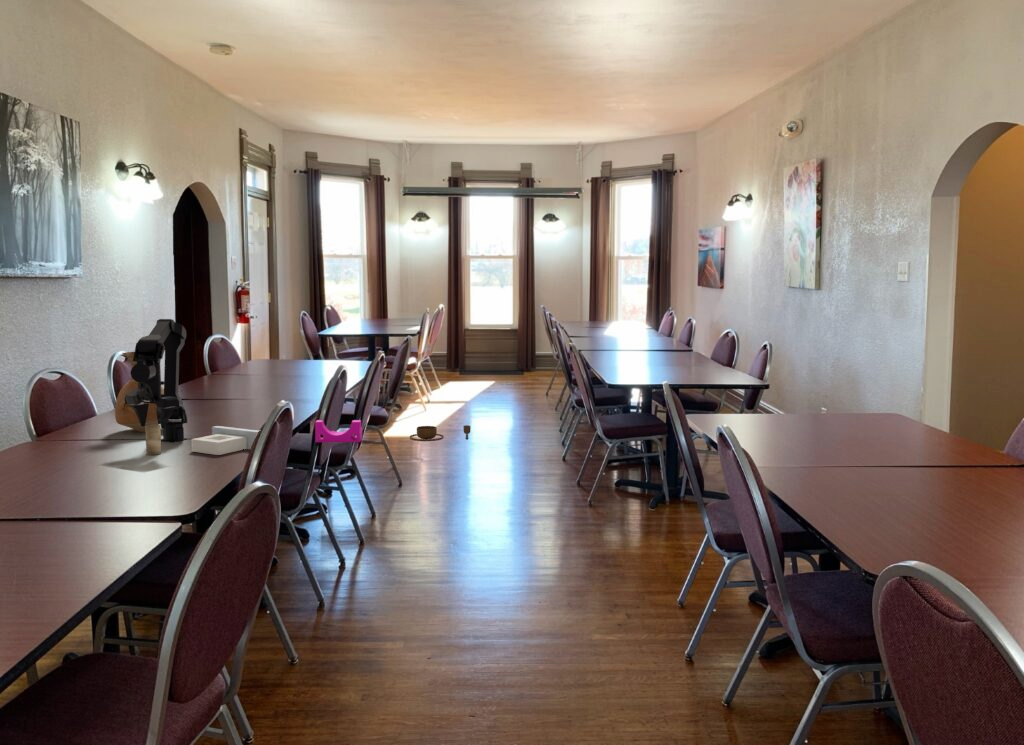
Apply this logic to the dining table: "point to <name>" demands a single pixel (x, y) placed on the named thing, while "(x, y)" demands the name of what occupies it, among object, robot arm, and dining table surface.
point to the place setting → (433, 433)
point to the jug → (126, 413)
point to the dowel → (153, 439)
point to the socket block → (219, 444)
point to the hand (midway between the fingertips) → (153, 427)
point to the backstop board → (236, 433)
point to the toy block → (338, 433)
